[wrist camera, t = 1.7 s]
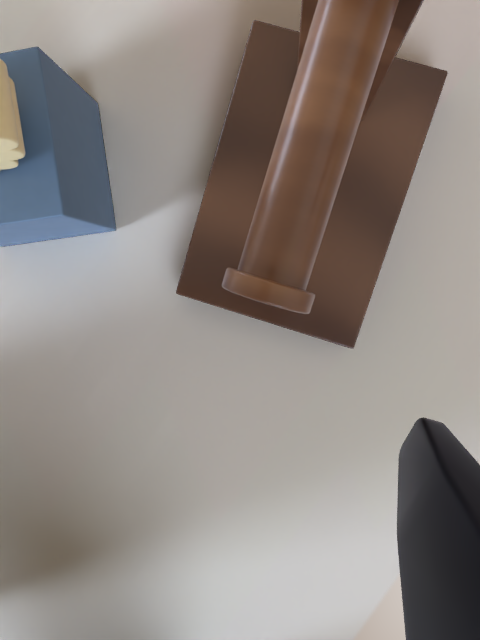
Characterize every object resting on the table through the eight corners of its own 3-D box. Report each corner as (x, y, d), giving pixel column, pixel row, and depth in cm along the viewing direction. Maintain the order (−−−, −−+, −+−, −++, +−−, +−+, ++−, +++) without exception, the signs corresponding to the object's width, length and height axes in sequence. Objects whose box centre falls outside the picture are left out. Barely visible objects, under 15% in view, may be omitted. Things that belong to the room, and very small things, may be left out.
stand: (348, 344, 22) (441, 439, 9) (182, 292, 23) (48, 311, 10) (437, 85, 20) (700, -244, 8) (255, 37, 21) (211, -347, 8)
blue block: (116, 230, 23) (64, 215, 17) (1, 246, 23) (-84, 237, 18) (98, 102, 22) (37, 45, 17) (-19, 123, 23) (-114, 74, 17)
